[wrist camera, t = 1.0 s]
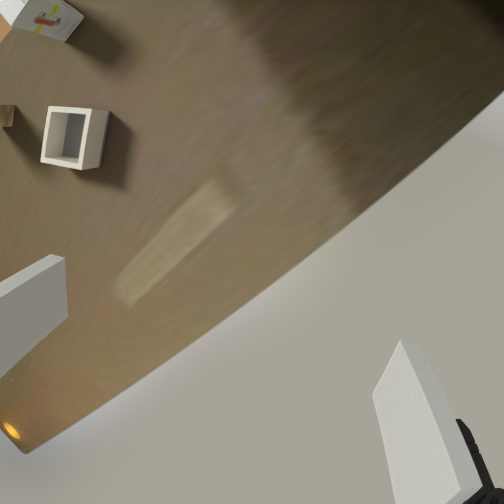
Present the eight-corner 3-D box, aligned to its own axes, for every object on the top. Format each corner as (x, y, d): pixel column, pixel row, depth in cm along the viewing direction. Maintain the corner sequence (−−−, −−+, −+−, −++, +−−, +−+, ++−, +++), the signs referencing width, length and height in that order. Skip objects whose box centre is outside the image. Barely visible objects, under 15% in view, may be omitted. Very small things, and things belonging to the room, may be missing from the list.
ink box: (41, 21, 32) (-9, 5, 20) (61, -4, 30) (13, -25, 19) (64, 43, 33) (9, 27, 22) (86, 17, 32) (34, -7, 20)
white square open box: (69, 107, 36) (48, 106, 32) (110, 111, 36) (91, 109, 31) (60, 159, 38) (40, 162, 34) (100, 166, 38) (81, 170, 34)
